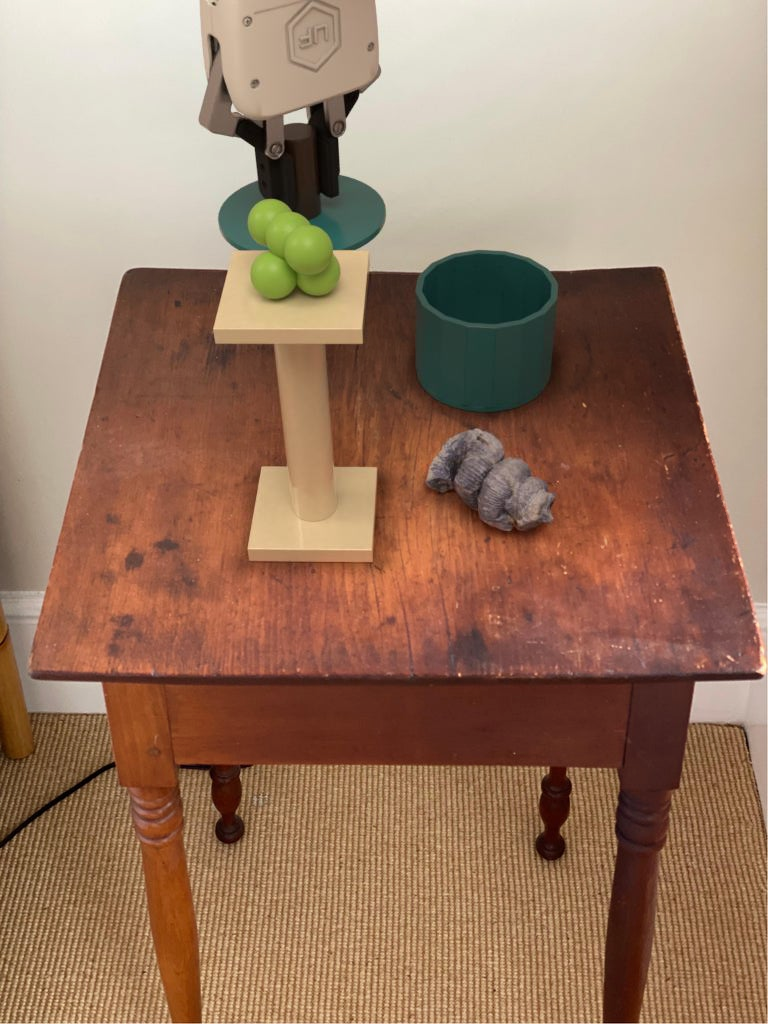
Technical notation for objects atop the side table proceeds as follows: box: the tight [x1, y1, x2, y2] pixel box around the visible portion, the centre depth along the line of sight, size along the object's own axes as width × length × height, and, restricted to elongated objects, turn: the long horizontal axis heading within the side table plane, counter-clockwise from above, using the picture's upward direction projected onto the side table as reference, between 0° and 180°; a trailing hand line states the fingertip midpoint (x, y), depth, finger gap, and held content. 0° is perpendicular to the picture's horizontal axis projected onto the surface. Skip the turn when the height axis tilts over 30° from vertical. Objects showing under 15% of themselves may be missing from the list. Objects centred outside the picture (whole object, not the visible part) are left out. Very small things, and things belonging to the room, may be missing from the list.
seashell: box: [424, 427, 556, 532], centre depth 74 cm, size 5×5×10 cm
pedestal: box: [212, 249, 379, 563], centre depth 69 cm, size 8×8×18 cm
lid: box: [217, 122, 387, 251], centre depth 74 cm, size 11×11×7 cm
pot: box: [414, 249, 559, 413], centre depth 84 cm, size 10×10×8 cm
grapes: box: [248, 199, 341, 299], centre depth 62 cm, size 6×5×4 cm
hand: (301, 195), depth 75 cm, fingers closed on lid, 2 cm apart
